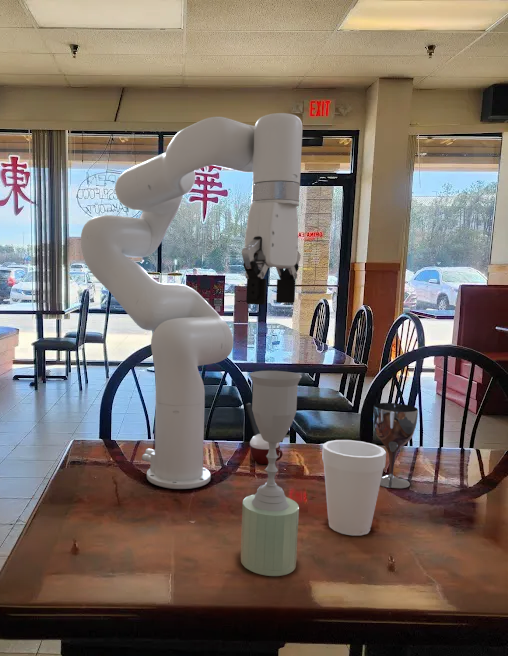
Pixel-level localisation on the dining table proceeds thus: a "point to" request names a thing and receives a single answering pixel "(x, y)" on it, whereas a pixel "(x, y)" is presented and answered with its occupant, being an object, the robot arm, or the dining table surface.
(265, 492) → the chalice
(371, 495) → the foam cup
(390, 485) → the wine glass
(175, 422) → the robot arm
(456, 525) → the dining table surface
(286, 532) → the mug
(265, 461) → the cocoa
